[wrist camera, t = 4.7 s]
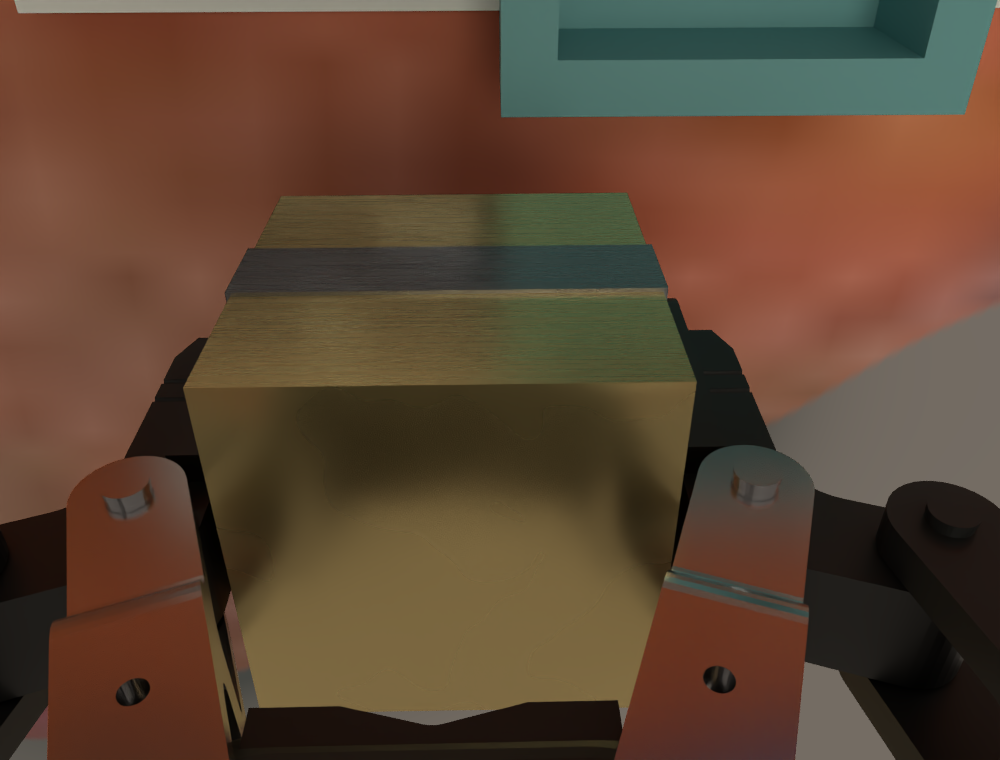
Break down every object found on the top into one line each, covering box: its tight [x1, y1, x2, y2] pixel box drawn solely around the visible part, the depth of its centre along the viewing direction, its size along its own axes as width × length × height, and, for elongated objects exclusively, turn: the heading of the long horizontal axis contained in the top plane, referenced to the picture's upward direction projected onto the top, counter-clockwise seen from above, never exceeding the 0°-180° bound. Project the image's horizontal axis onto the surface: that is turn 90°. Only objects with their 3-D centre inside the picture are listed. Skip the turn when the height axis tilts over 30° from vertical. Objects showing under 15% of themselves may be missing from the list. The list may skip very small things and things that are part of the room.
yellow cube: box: [183, 193, 697, 712], centre depth 12 cm, size 5×5×5 cm
